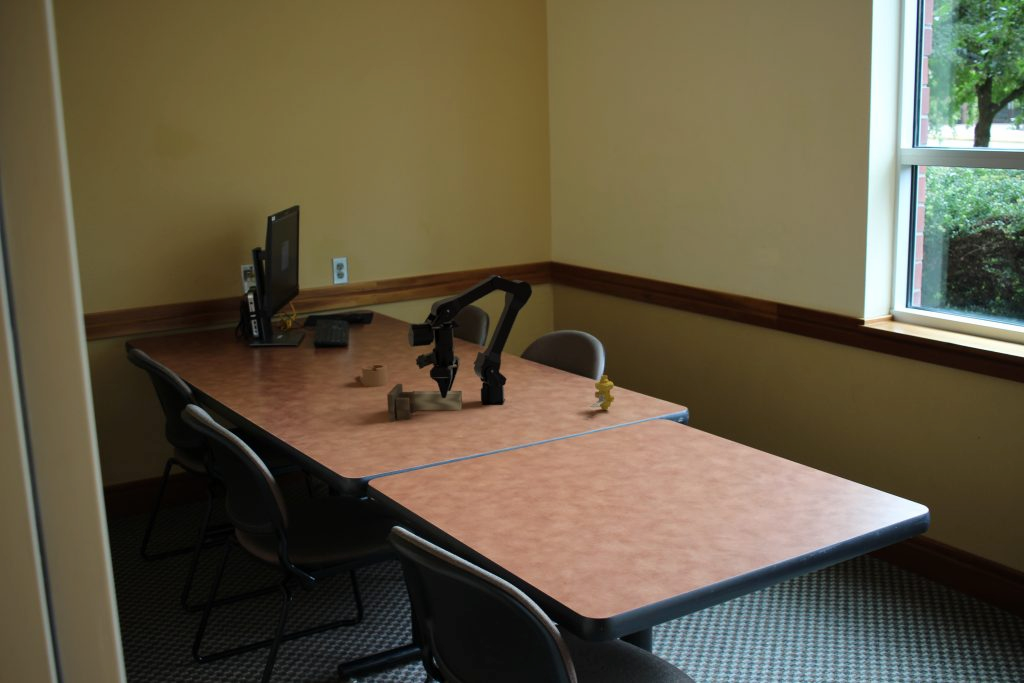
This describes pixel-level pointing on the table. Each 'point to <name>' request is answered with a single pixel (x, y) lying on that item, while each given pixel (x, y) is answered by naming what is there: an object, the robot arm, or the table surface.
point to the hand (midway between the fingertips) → (446, 394)
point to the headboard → (400, 404)
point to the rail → (437, 400)
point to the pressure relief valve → (603, 393)
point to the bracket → (374, 375)
